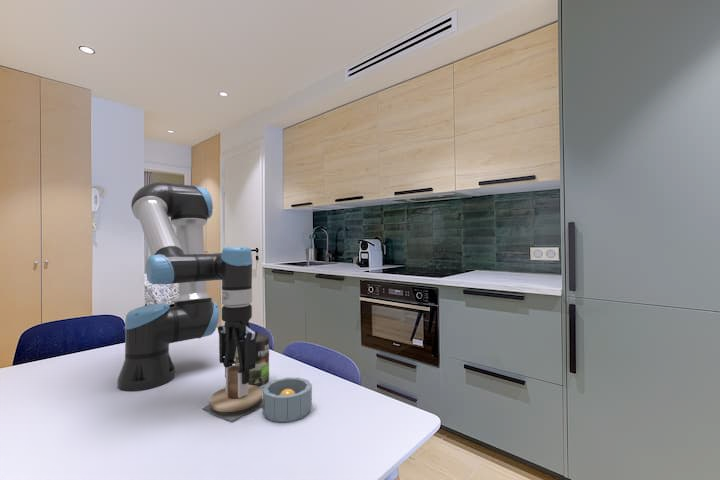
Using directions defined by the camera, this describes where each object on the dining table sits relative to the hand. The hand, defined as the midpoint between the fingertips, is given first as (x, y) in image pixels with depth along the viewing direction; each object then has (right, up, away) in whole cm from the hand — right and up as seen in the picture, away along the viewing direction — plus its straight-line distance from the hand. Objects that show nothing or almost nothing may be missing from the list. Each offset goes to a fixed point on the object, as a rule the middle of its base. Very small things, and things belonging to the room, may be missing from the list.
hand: (236, 392), depth 88 cm
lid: (0, -2, 0) cm, 2 cm away
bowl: (+14, -3, -2) cm, 15 cm away
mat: (0, -3, 0) cm, 3 cm away
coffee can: (-1, -4, +14) cm, 14 cm away
